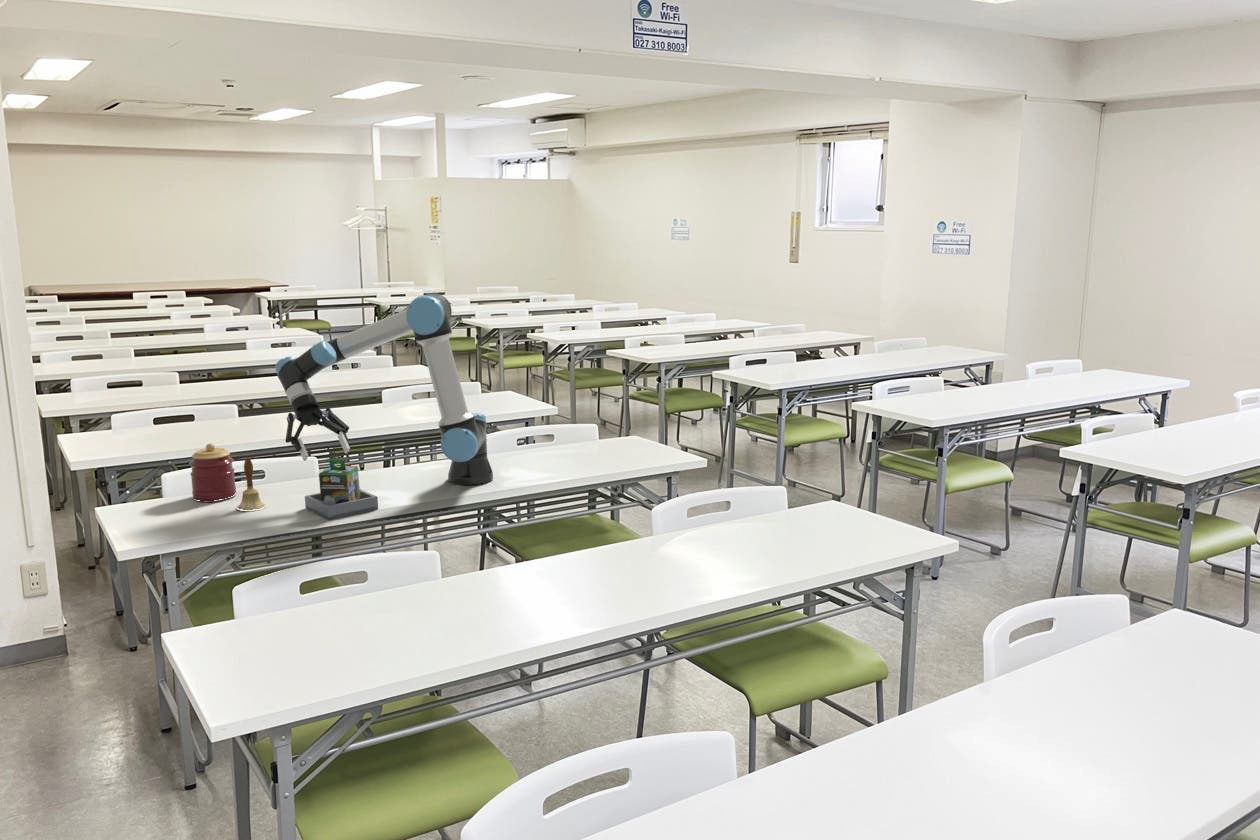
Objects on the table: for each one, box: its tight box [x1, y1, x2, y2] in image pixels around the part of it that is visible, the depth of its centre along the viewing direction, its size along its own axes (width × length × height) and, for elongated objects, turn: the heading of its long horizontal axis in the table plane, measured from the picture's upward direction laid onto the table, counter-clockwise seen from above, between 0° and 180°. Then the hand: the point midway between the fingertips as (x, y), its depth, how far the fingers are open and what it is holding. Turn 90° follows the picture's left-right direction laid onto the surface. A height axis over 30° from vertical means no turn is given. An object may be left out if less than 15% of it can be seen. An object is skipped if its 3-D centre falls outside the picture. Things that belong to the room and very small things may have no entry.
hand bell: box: [237, 457, 266, 510], centre depth 297 cm, size 8×8×16 cm
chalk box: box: [318, 459, 361, 505], centre depth 296 cm, size 9×9×15 cm
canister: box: [188, 443, 237, 501], centre depth 309 cm, size 13×13×18 cm
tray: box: [304, 488, 379, 521], centre depth 297 cm, size 16×16×4 cm
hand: (327, 454), depth 299 cm, fingers open, 13 cm apart
